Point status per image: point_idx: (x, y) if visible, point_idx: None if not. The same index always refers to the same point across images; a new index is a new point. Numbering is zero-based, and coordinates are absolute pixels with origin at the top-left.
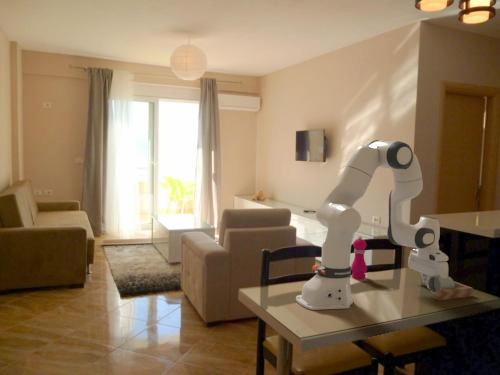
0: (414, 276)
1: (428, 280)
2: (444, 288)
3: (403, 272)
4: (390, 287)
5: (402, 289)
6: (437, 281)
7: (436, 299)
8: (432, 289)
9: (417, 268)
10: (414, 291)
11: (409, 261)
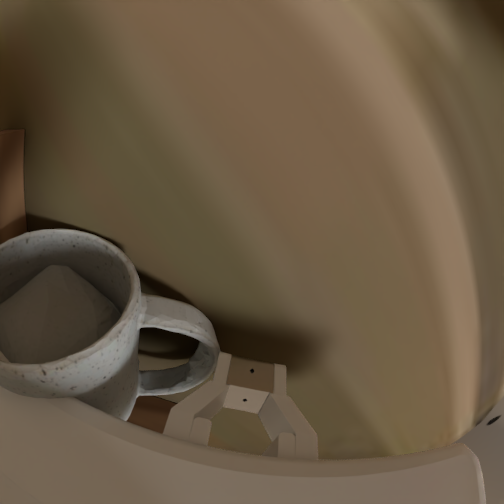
0: (410, 423)
1: (104, 335)
2: (3, 280)
3: (462, 415)
4: (461, 50)
5: (362, 71)
6: (18, 328)
7: (13, 130)
8: (123, 286)
9: (367, 491)
10: (230, 123)
11: (476, 501)
